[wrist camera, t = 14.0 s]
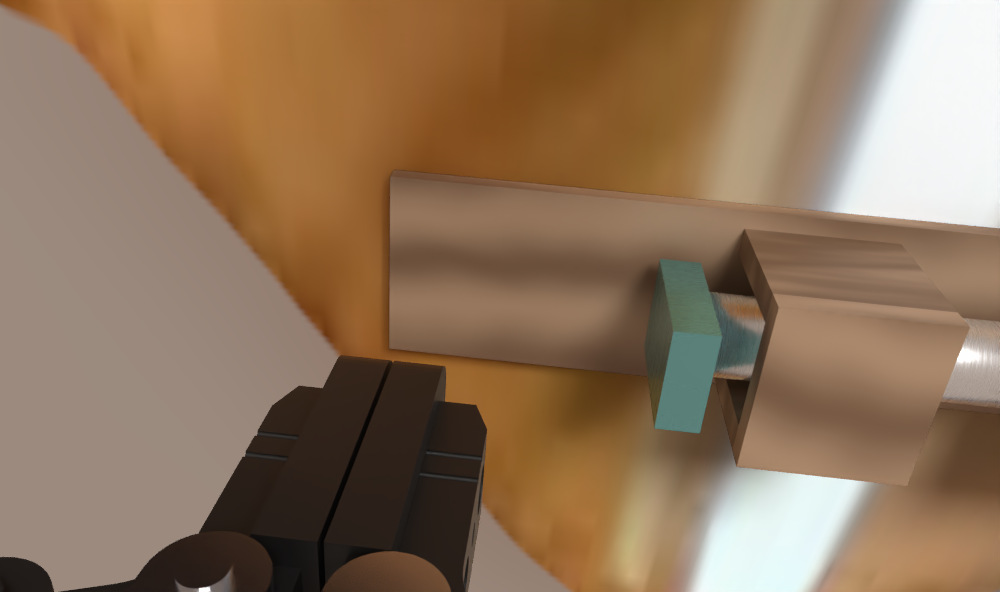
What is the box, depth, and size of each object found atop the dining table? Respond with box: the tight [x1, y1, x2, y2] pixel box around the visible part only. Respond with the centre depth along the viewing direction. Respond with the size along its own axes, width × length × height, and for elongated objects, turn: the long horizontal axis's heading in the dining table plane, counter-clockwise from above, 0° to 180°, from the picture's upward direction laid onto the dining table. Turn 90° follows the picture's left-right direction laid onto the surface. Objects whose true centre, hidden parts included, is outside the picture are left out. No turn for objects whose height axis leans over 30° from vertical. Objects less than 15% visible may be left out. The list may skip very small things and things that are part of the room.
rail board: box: [389, 170, 1000, 486], centre depth 38 cm, size 10×43×9 cm, turn 86°
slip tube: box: [644, 259, 1000, 433], centre depth 37 cm, size 25×5×7 cm, turn 86°
